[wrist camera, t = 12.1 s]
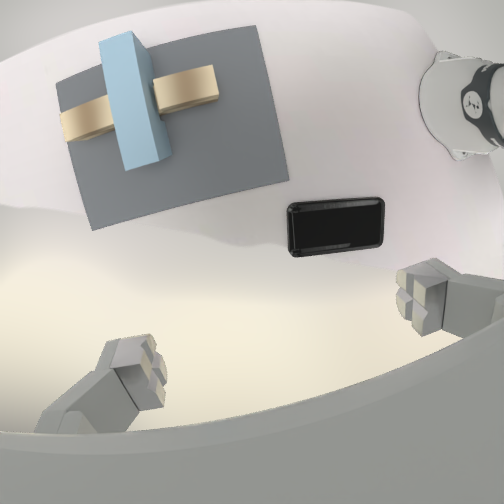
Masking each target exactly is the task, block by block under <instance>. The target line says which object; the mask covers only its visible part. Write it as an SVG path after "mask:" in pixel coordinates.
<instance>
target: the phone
mask: <svg viewBox="0 0 504 504" xmlns="http://www.w3.org/2000/svg"><path fill="white" fill-rule="evenodd" d="M384 217H385V202H384V200H383V199H381V198H379V197H367V198H351V199H336V200H322V201H310V202H297V203H292V204H290V205H289V206H288V208H287V229H288V251H289V253H290V254H291V255H292V256H293V257H305V256H312V255H322V254H330V253H338V252H347V251H355V250H363V249H371V248H377V247H379V246H381V245H382V243H383V236H384Z"/></svg>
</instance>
